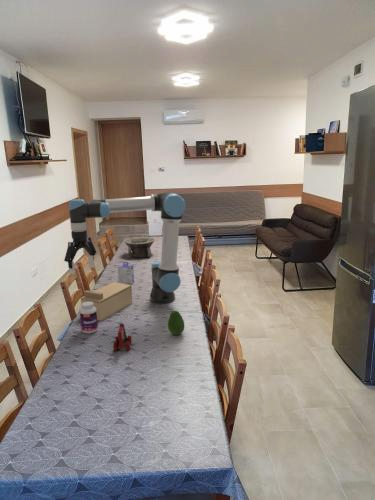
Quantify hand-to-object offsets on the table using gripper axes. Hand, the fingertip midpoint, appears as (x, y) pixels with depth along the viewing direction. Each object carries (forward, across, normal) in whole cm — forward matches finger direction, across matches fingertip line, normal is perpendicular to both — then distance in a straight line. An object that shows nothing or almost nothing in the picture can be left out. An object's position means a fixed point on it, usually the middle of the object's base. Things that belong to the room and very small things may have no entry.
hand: (82, 270), depth 189 cm
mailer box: (+27, -15, +2) cm, 31 cm away
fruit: (+27, -6, +52) cm, 59 cm away
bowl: (+27, -120, -51) cm, 133 cm away
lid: (+17, -15, +2) cm, 23 cm away
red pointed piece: (+27, +15, +37) cm, 48 cm away
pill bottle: (+27, +10, +12) cm, 31 cm away
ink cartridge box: (+27, -57, -17) cm, 65 cm away
